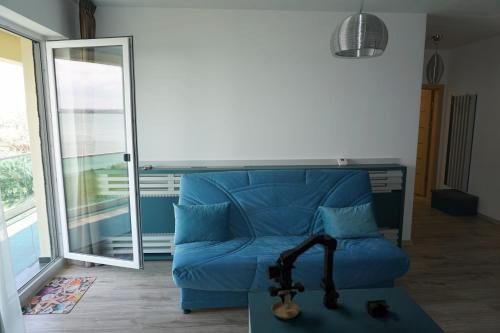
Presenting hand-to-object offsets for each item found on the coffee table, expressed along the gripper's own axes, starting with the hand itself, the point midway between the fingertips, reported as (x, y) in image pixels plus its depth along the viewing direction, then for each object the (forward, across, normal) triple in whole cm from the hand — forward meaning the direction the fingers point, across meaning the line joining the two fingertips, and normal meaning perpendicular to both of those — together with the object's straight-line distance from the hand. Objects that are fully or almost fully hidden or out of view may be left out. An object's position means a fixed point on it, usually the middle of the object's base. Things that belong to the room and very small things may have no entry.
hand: (286, 304), depth 175 cm
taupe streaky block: (+2, 0, 0) cm, 2 cm away
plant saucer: (+5, 0, 0) cm, 5 cm away
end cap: (+5, -46, +13) cm, 48 cm away
